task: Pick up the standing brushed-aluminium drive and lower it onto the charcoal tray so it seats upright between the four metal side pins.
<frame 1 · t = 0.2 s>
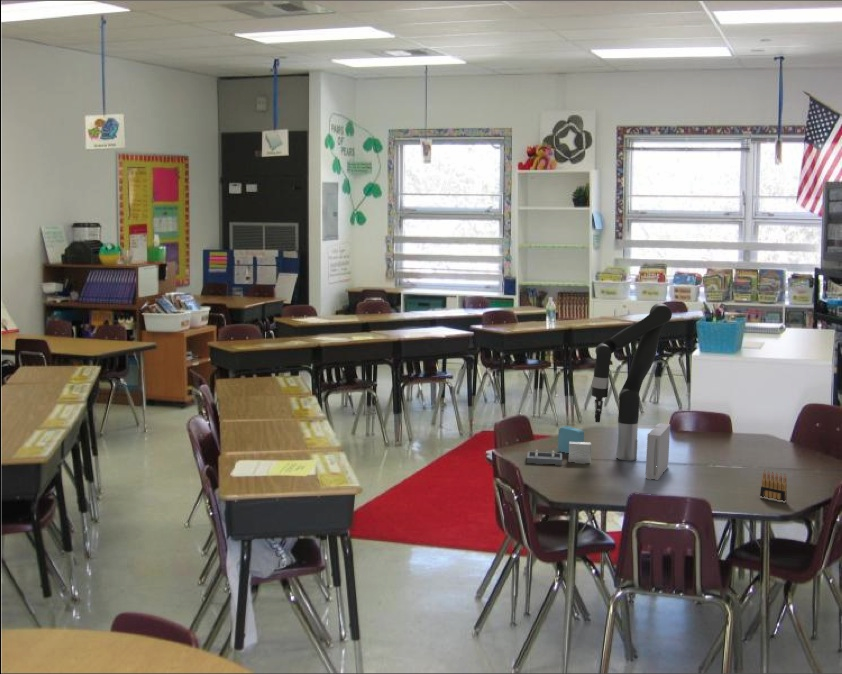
hand: (597, 420, 525), 18 cm above the table, tool pointing down, fingers open, 8 cm apart
ammunition clip: (772, 501, 459), on the table
tray: (544, 461, 518), on the table
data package: (570, 453, 535), on the table
drive: (579, 462, 518), on the table
game console: (656, 473, 501), on the table
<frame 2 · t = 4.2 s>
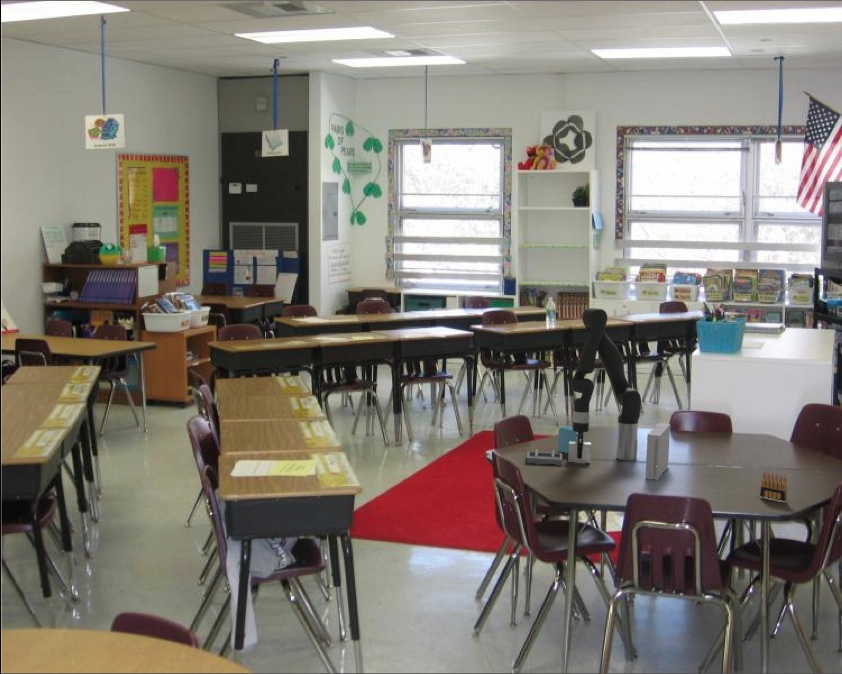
hand: (579, 456, 518), 2 cm above the table, tool pointing down, fingers closed on drive, 4 cm apart
drive: (579, 462, 518), on the table, touching gripper
everything else where it was.
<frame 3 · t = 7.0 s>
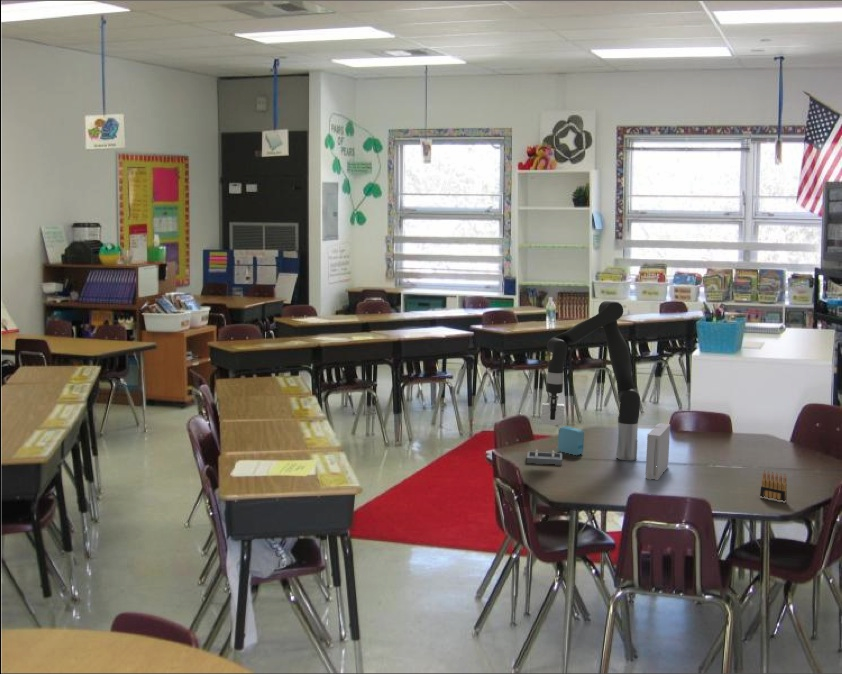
hand: (552, 418, 516), 20 cm above the table, tool pointing down, fingers closed on drive, 4 cm apart
drive: (552, 423, 516), point 18 cm above the table, touching gripper
everything else where it was.
when the fingers open (5 cm above the table, at t = 10.0 s): drive drops 1 cm, resting on tray.
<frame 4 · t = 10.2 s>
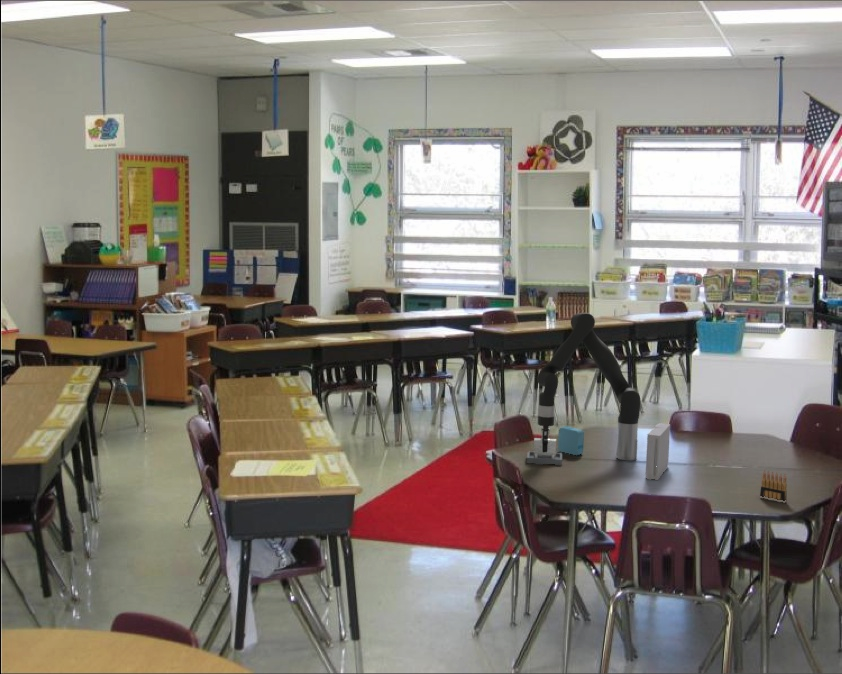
hand: (544, 450, 517), 5 cm above the table, tool pointing down, fingers open, 6 cm apart
drive: (544, 458, 518), point 1 cm above the table, touching tray
everything else where it was.
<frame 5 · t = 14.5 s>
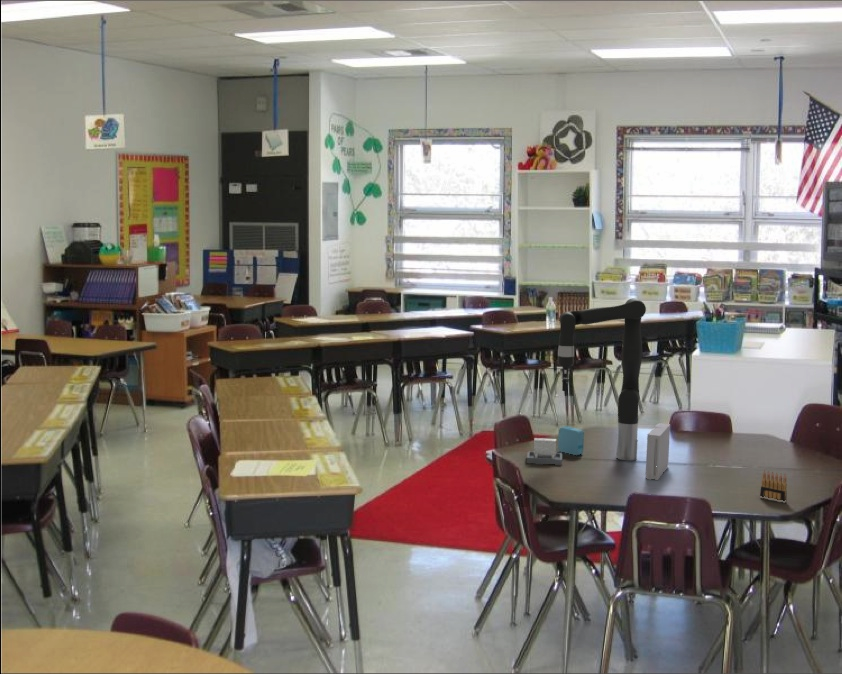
hand: (564, 389, 524), 32 cm above the table, tool pointing down, fingers open, 8 cm apart
nothing on the table moved.
at the end: drive 0.1 cm off-centre on the tray, point 1.2 cm above the tray's base; drive tilted 0°; the gripper is holding nothing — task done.
